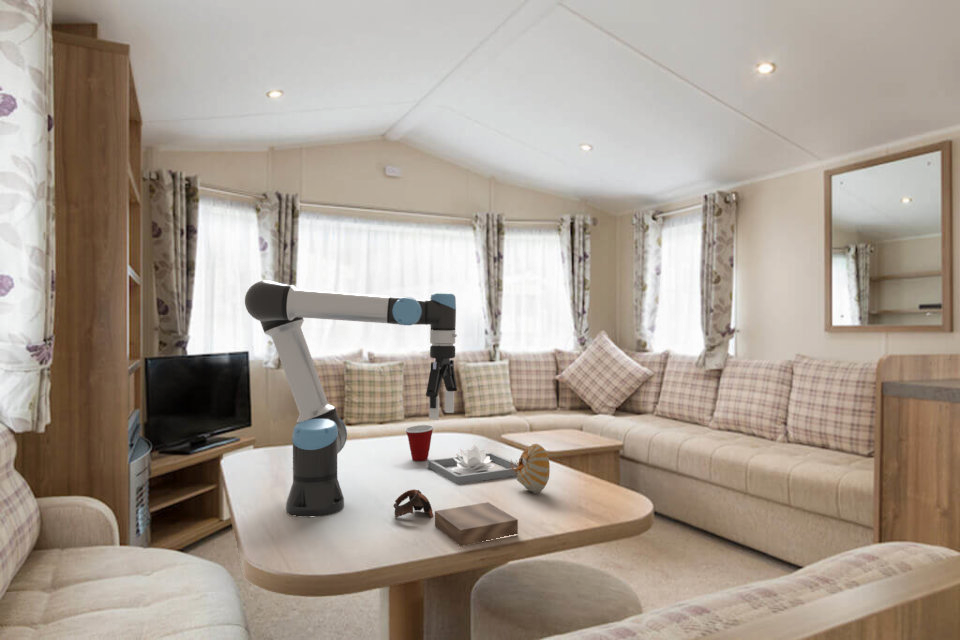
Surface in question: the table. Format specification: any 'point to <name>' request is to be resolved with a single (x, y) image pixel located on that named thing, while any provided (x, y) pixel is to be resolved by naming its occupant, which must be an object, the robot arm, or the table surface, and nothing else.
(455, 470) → the lotus flower
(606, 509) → the table surface
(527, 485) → the nautilus
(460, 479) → the slate frame
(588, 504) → the table surface
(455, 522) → the brown wooden square block
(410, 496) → the broken clay pottery vessel
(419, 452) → the plastic cup
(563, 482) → the table surface
